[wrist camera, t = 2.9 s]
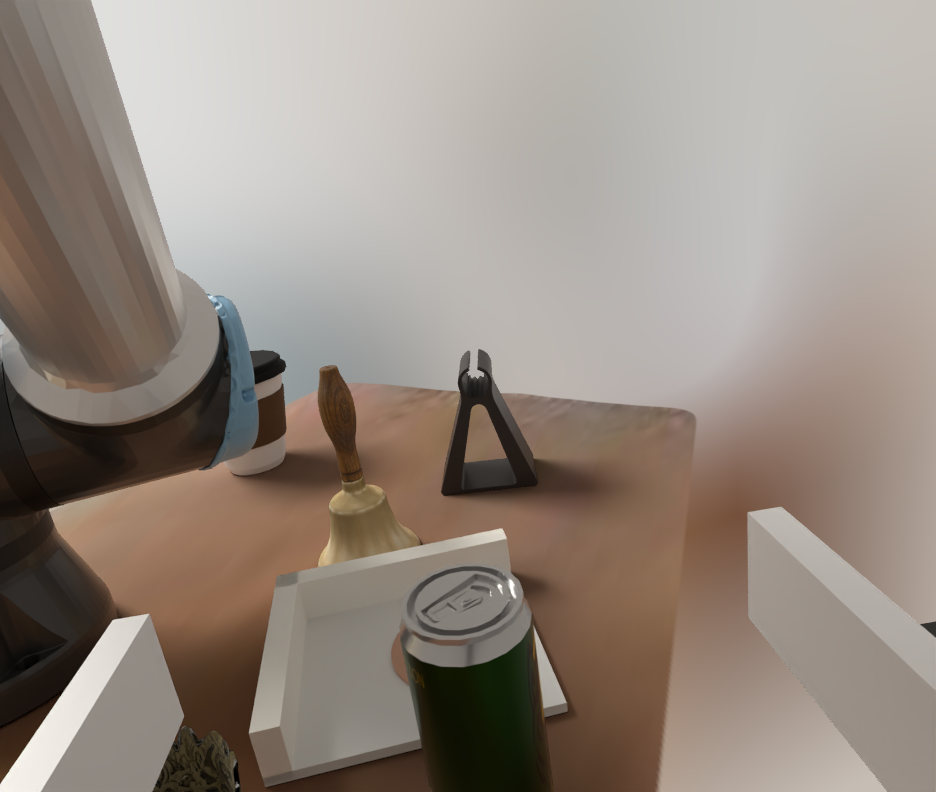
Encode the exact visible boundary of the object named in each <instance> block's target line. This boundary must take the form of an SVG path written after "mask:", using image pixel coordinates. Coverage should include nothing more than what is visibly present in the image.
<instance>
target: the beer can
mask: <svg viewBox="0 0 936 792" xmlns="http://www.w3.org/2000/svg"><path fill="white" fill-rule="evenodd" d="M401 615H402V620H401V623H400V625H399V629H400V641H401V646H402V651H403V656H404V661H405V666H406V671H407V676H408V681H409V686H410V691H411V696H412V701H413V706H414V711H415V716H416V721H417V726H418V731H419V736H420V741H421V746H422V751H423V756H424V761H425V766H426V770H427V775H428V780H429V785H430V790H431V792H554V790H553V782H552V774H551V766H550V758H549V749H548V741H547V733H546V725H545V717H544V708H543V700H542V692H541V684H540V676H539V667H538V659H537V651H536V643H535V635H534V626H533V618H532V612H531V609H530V606H529V604H528V601H527V599H526V598H525V597H524V593H523V590H522V587H521V584H520V581H519V580H518V579H517V578H516V577H515V576H514V575H513V574H511V573H510V572H509V571H506V570H504V569H502V568H500V567H498V566H494V565H488V564H483V563H463V564H458V565H452V566H447V567H444V568H441V569H439V570H436V571H434V572H431V573H429V574H427V575H426V576H424V577H423V578H421V579H420V580H418V581H416V582H415V583H414V584H413V585H412V587H411V588H410V589H409V590H408V591H407V592H406V593H405V596H404V598H403V601H402V603H401Z"/></svg>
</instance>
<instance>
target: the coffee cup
mask: <svg viewBox="0 0 936 792" xmlns="http://www.w3.org/2000/svg"><path fill="white" fill-rule="evenodd" d="M250 355H251V360H252V365H253V371H254V381H255V387H254V390H255V393H256V396H257V402H258V413H259V428H258V435H257V439H256V442H255V444H254V446H253V447H252V448H251V450H250V451H249V452H247V453H246V454H244V455H243V456H240V457H238V458H234V459H231V460H228V461H224V464H225V465H226V467H227V468H228V469H229V470H230V471H231V472H232V473H233V474H236V475H253V474H258V473H262V472H265V471H268V470H270V469H272V468H274V467H276V466H278V465H279V464H280V463H282V462H283V460H284V457H285V453H286V439H285V432H286V416H285V401H284V387H283V384H282V381H281V373H282V372H284V370H285V367H286V364H285V361H284V360H282V359H280V355H279V354H277V353H275V352H273V351H264V350H260V351H250Z"/></svg>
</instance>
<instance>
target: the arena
mask: <svg viewBox="0 0 936 792" xmlns="http://www.w3.org/2000/svg"><path fill="white" fill-rule="evenodd" d="M463 563H483V564H488V565H494V566H498V567H500V568H502V569H504V570H506V571H509V572H510V573H511V567H510V559H509V552H508V544H507V538H506V536H505V534H504V532H503V529H502V528H501V529H497V530H492V531H487V532H482V533H478V534H473V535H468V536H464V537H459V538H454V539H449V540H445V541H440V542H435V543H431V544H426V545H421V546H416V547H412V548H407V549H402V550H397V551H393V552H388V553H383V554H379V555H374V556H369V557H364V558H360V559H355V560H350V561H345V562H341V563H336V564H331V565H327V566H322V567H317V568H312V569H308V570H303V571H298V572H293V573H289V574H284V575H279V576H277V579H276V585H275V590H274V596H273V601H272V607H271V613H270V618H269V624H268V629H267V635H266V640H265V646H264V651H263V657H262V662H261V668H260V674H259V679H258V685H257V690H256V696H255V701H254V707H253V712H252V718H251V723H250V729H249V736H250V740H251V743H252V746H253V749H254V753H255V756H256V759H257V762H258V766H259V769H260V772H261V775H262V779H263V782H264V785H265V787H268V786H272V785H276V784H280V783H284V782H288V781H292V780H296V779H300V778H304V777H308V776H312V775H316V774H320V773H324V772H328V771H332V770H336V769H340V768H344V767H348V766H352V765H356V764H360V763H364V762H368V761H372V760H376V759H380V758H384V757H388V756H392V755H396V754H400V753H404V752H408V751H412V750H416V749H420V748H422V746H421V741H420V736H419V731H418V726H417V721H416V716H415V711H414V706H413V701H412V696H411V691H410V686H409V681H408V676H407V671H406V666H405V661H404V656H403V651H402V646H401V641H400V629H399V625H400V623H401V620H402V615H401V603H402V601H403V598H404V596H405V593H406V592H407V591H408V590H409V589H410V588H411V587H412V585H413V584H414V583H415V582H416V581H418V580H420V579H421V578H423V577H424V576H426V575H427V574H429V573H431V572H434V571H436V570H439V569H441V568H444V567H447V566H452V565H458V564H463ZM533 626H534V625H533ZM534 635H535V643H536V651H537V659H538V667H539V676H540V684H541V692H542V700H543V708H544V717H548V716H552V715H556V714H560V713H564V712H568V709H567V702H566V700H565V697H564V695H563V693H562V690H561V688H560V686H559V683H558V681H557V679H556V676H555V674H554V672H553V669H552V667H551V665H550V663H549V660H548V658H547V656H546V653H545V651H544V649H543V646H542V644H541V642H540V639H539V637H538V635H537V632H536V630H535V628H534Z"/></svg>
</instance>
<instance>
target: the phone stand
mask: <svg viewBox="0 0 936 792" xmlns="http://www.w3.org/2000/svg"><path fill="white" fill-rule="evenodd" d="M469 363H470V351H467V352H466V353H465V354H464V355H463V356H462V358H461V363H460V371H459V378H458V387H459V390H460V394H461V395H460V400H459V404H458V409H457V413H456V418H455V422H454V426H453V431H452V435H451V440H450V444H449V449H448V453H447V458H446V462H445V468H444V476H443V483H442V491H441V493H442V494H443V495H454V494H463V493H472V492H482V491H488V489H491V490H500V489H509V488H518V487H527V486H535V485H537V483H538V481H537V476H536V470H535V464H534V458H533V454H532V452H531V450H530V448H529V446H528V444H527V442H526V441H525V439H524V437H523V435H522V433H521V431H520V429H519V427H518V426H517V424H516V422H515V420H514V418H513V416H512V414H511V412H510V410H509V409H508V407H507V405H506V403H505V401H504V399H503V397H502V395H501V393H500V392H499V390H498V388H497V386H496V384H495V382H494V380H493V377H492V368H491V359H490V357H489V355H488V354H487V353H486V352H484V351H483V350H480V349H479V350H478V370H480V371H482V372H484V377H482V376H480V377H479V378H478V379H477V378H476V377H474V378H471V376H470V375H469V376H468V373H467V372H468V371H469ZM477 404H481V405H484V406H485V407H486V409H487V411H488V413H489V416H490V418H491V420H492V423H493V425H494V427H495V430H496V432H497V434H498V437H499V439H500V441H501V444H502V446H503V449H504V451H505V453H506V456H507V458H505V459H496V460H487V461H478V462H469V463H464V458H465V450H466V443H467V435H468V427H469V420H470V412H471V409H472V407H473V406H474V405H477Z"/></svg>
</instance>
